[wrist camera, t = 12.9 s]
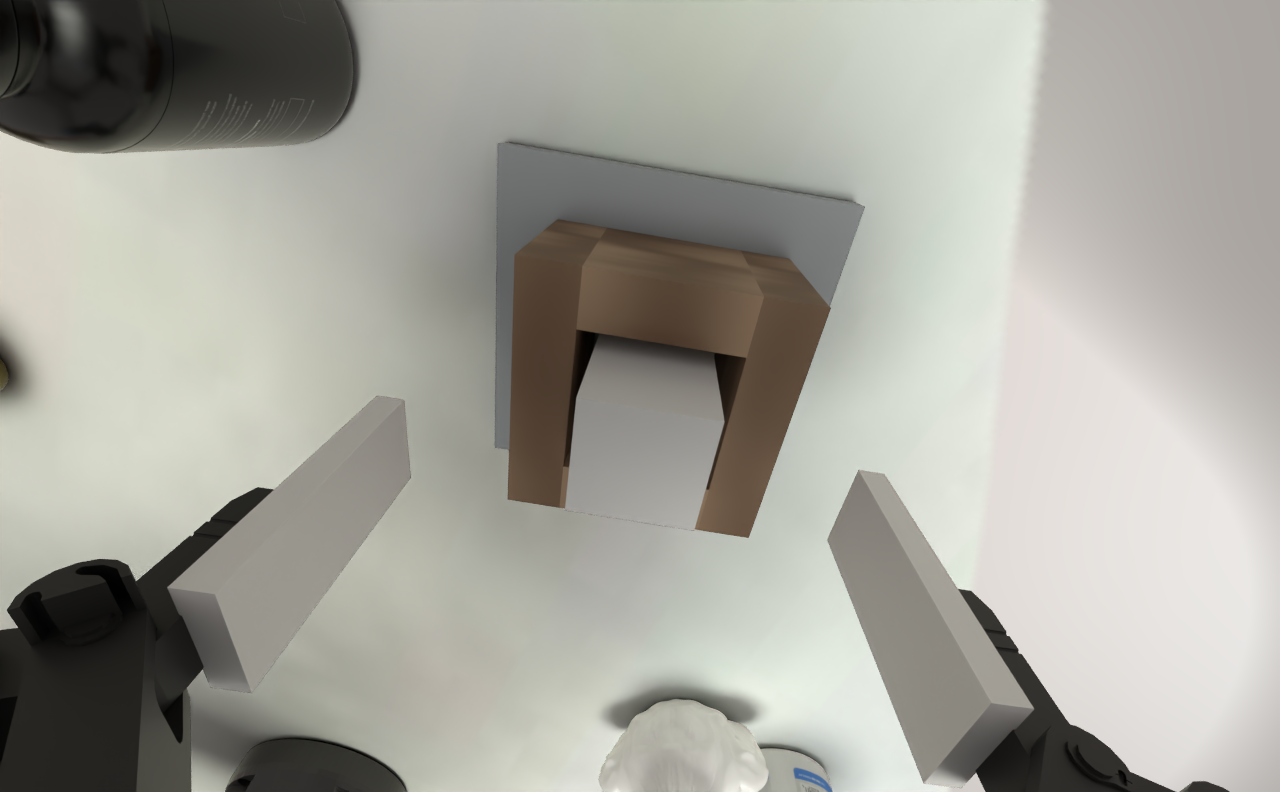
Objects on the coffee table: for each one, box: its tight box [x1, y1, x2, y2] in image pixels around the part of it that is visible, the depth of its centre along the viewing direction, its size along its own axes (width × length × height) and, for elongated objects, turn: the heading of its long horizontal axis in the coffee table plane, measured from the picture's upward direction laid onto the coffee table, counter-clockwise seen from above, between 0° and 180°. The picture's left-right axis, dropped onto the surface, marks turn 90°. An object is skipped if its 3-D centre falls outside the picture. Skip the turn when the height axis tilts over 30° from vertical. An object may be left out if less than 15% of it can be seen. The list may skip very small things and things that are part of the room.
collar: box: [508, 219, 831, 538], centre depth 19 cm, size 9×9×6 cm
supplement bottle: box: [0, 0, 353, 153], centre depth 13 cm, size 7×7×12 cm
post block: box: [495, 142, 865, 531], centre depth 19 cm, size 14×14×10 cm
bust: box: [599, 699, 769, 792], centre depth 34 cm, size 12×8×11 cm
